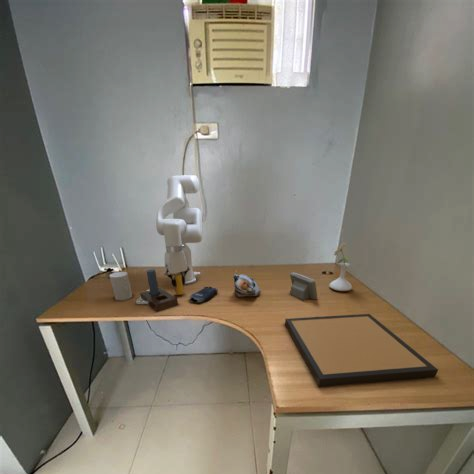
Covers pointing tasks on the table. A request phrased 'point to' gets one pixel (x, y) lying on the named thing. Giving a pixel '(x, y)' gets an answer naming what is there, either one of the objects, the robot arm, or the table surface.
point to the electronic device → (203, 294)
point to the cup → (120, 285)
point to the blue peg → (152, 282)
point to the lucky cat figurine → (245, 286)
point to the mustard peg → (179, 284)
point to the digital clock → (303, 286)
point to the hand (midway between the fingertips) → (178, 284)
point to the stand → (159, 299)
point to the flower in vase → (341, 282)
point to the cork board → (355, 351)
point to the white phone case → (141, 301)
